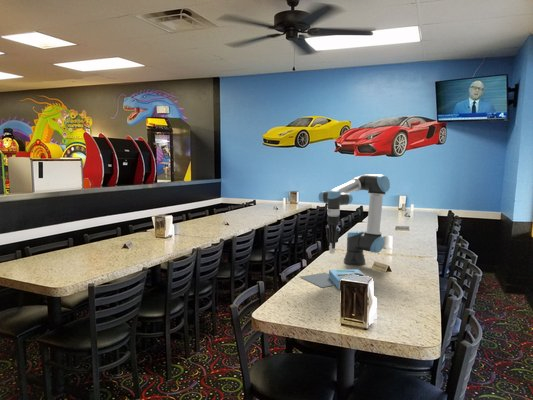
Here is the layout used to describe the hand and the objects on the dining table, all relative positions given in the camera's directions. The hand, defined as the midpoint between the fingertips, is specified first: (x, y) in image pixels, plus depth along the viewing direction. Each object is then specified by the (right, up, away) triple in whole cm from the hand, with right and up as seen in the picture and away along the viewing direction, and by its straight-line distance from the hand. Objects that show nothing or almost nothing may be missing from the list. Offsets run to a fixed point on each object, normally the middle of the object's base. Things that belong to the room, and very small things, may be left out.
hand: (332, 253), depth 237 cm
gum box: (+8, -13, +3) cm, 15 cm away
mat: (-6, -17, -1) cm, 17 cm away
